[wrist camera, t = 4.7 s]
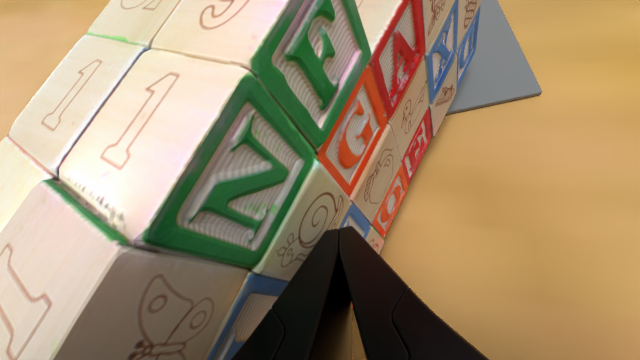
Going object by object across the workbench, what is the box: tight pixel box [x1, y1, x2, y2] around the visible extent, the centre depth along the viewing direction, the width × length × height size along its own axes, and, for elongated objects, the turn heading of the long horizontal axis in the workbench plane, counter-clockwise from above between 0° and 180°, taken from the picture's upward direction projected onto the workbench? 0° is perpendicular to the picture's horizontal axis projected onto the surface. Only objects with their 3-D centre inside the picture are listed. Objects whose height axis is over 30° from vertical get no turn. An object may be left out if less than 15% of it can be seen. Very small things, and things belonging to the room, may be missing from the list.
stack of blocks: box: [0, 0, 482, 360], centre depth 11 cm, size 21×6×12 cm, turn 151°
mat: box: [446, 0, 542, 115], centre depth 21 cm, size 14×24×1 cm, turn 98°
